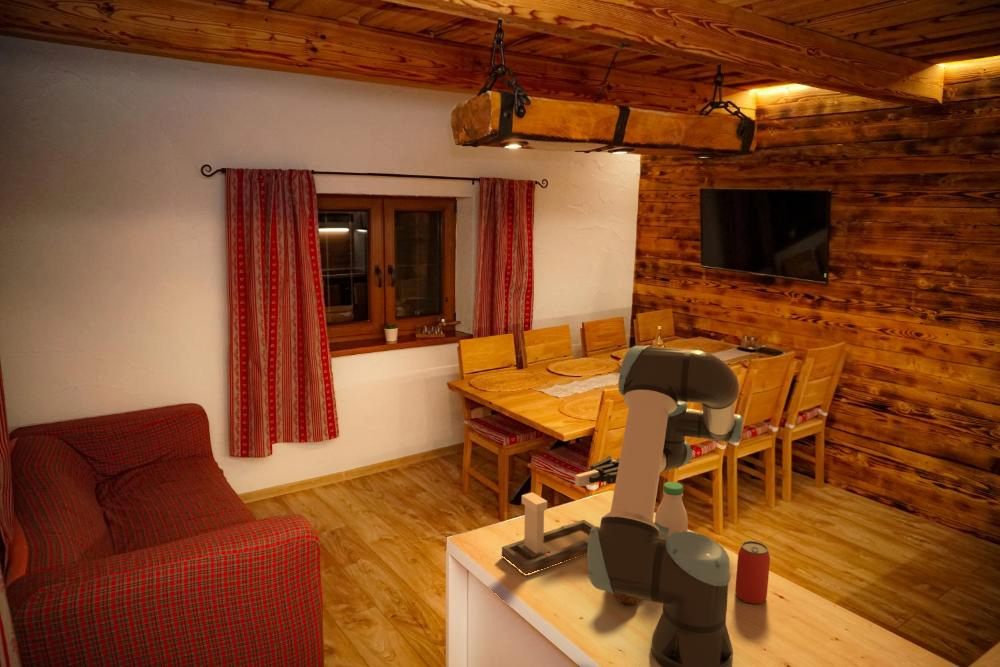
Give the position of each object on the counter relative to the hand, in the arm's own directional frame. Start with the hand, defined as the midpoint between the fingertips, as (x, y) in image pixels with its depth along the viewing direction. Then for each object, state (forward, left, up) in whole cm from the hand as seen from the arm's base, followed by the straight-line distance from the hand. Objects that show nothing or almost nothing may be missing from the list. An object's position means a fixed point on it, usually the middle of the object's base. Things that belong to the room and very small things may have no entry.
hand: (577, 481), depth 171 cm
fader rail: (-4, +5, -17) cm, 18 cm away
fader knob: (-9, +11, -15) cm, 21 cm away
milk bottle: (-8, -22, -17) cm, 29 cm away
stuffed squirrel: (-22, -10, -17) cm, 30 cm away
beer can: (-22, -37, -17) cm, 46 cm away
